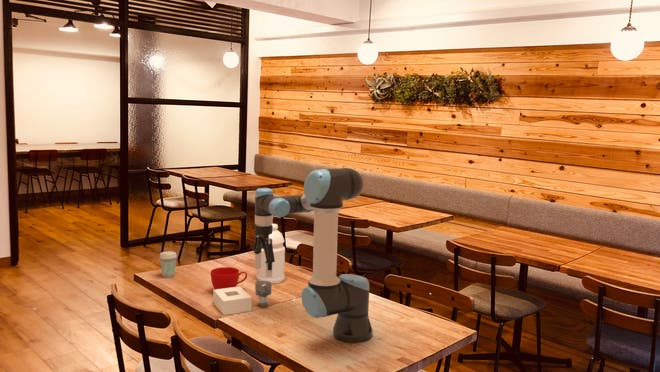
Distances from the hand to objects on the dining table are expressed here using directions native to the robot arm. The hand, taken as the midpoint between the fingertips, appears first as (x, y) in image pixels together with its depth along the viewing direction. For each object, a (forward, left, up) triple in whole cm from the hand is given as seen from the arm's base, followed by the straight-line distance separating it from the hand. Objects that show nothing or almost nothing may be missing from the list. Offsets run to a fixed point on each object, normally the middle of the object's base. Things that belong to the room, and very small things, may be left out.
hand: (263, 272), depth 249 cm
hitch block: (+3, +13, -15) cm, 20 cm away
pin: (0, 0, -15) cm, 15 cm away
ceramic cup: (+24, +8, -15) cm, 29 cm away
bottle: (+33, -16, -15) cm, 39 cm away
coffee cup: (+58, +29, -15) cm, 66 cm away
